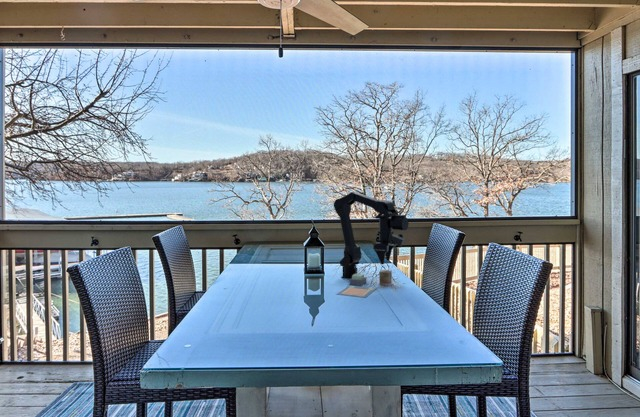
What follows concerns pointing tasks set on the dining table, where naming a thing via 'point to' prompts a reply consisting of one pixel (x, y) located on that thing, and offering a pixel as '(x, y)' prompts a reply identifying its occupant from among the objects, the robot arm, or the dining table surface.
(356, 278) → the button
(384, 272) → the block
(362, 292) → the picture mat
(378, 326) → the dining table surface
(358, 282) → the button housing
